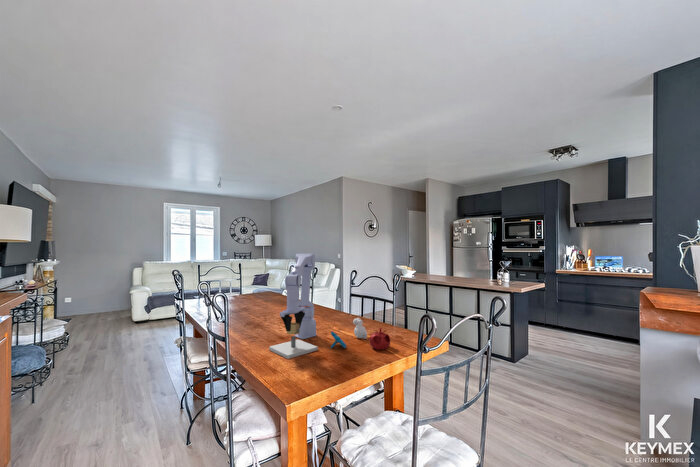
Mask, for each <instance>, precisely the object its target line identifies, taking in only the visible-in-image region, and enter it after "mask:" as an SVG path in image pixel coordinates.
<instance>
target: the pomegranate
mask: <svg viewBox="0 0 700 467" xmlns="http://www.w3.org/2000/svg"><path fill="white" fill-rule="evenodd" d="M382 328H383V327H379V328H378V329H379V331H378V330H377V329H375V330H374V331H373V332H372V334H371V335H370V337H369V338H368V341H369V344H370V346H371V348H372V349H375V350H378V351H381V350H387V349H388V348H389V347H390V345H391V337H390V335H389V334H388V333H387V331H386V330H383V329H382ZM382 330H383V331H382ZM385 332H386V333H385Z"/></svg>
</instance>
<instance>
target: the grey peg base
mask: <svg viewBox="0 0 700 467" xmlns="http://www.w3.org/2000/svg"><path fill="white" fill-rule="evenodd" d="M296 338H297V337H295V336H294V335H292V336H291V337H290V339H291V340H289V341H286V342H283V343H278V344H275V345H274V344H273V345H270V346H268V347H269V348H268V350H269V351H270V352H272V353H275V354H277V355H279V356H280V357H283V358H284V359H287V360H289V359H291V358H296V357H299V356H302V355H303V356H304V355H306V354H308V353H312V352H316V351H318V350H319V348H318V346H317V345H314V344H312V343H309V342H306V341H303V340H302V339H300V338H298V339H296Z"/></svg>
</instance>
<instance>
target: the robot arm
mask: <svg viewBox="0 0 700 467" xmlns="http://www.w3.org/2000/svg"><path fill="white" fill-rule="evenodd" d="M294 261H295V264H296V265H294V266H292V269H291V271H290V273H289V274H287V275H286V276H285V280H284V285H285V290H286V309H285V310H283V311H280V312H279V317H280V318H281V319H282V322H283V324H284V328H285V331H286V332H287V331H290V330H291V323H292V320H293V316H294V322H297V323H299V333H298V334H293V336H295V337H296V338H298V339H299V340H305V339H309V338H314V337H317V336H318V335H317V323H316V319H315V305H314V303H312V302H311V300H310V295H311V294H310V293H311V278H312V277H311V275H312V271H313V270H314V269H315V267H316V255H315V254H314V252H312V253H296V254H295V260H294ZM300 287H301V289H300ZM291 315H293V316H291Z"/></svg>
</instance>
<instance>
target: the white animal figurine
mask: <svg viewBox="0 0 700 467" xmlns="http://www.w3.org/2000/svg"><path fill="white" fill-rule="evenodd" d="M363 323H364V321H363V320H362V319H361V318H360V317H357V318H354V319H353V320H352V324H353V325H354V326H355V325H356V326H355V327H354V330H353V333H354V336H355V337H356V338H357V339H363V340H367V338H368V331H367V329H366V327H365V326H364V325H363Z"/></svg>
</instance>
